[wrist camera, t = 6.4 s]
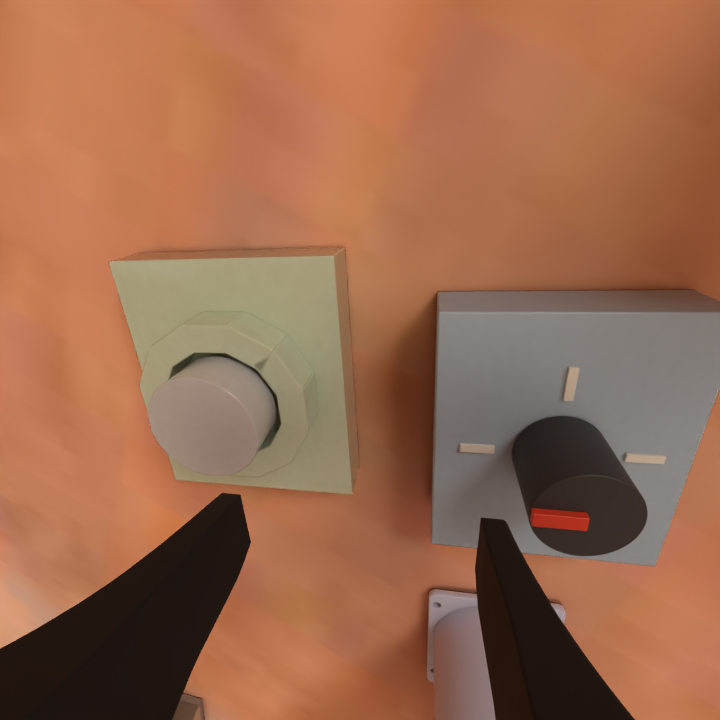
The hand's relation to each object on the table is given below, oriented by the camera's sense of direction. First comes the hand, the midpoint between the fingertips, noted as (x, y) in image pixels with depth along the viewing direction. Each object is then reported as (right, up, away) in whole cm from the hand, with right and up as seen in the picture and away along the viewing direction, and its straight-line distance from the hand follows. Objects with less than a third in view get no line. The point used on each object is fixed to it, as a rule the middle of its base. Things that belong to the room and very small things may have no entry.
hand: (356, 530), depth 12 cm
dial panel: (+9, +3, +7) cm, 12 cm away
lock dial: (+8, +1, +5) cm, 9 cm away
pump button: (-6, +3, +6) cm, 9 cm away
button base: (-5, +5, +9) cm, 11 cm away
